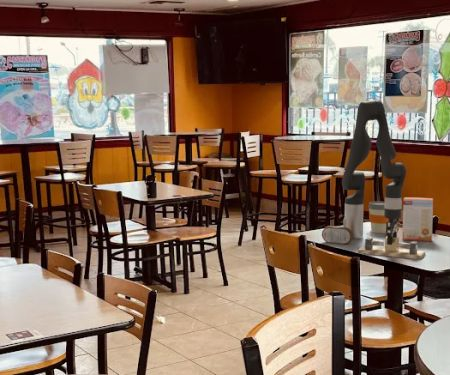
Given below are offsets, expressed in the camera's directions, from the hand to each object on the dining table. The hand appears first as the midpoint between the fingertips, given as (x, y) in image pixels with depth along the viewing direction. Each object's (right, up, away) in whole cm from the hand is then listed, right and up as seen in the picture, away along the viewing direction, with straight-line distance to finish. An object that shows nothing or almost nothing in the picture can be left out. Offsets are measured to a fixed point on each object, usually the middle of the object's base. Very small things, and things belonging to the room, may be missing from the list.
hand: (391, 242), depth 313 cm
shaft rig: (0, -5, +1) cm, 5 cm away
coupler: (0, -4, 0) cm, 4 cm away
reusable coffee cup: (+7, +2, +54) cm, 54 cm away
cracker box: (+20, -1, +32) cm, 38 cm away
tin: (-21, -2, +23) cm, 31 cm away
